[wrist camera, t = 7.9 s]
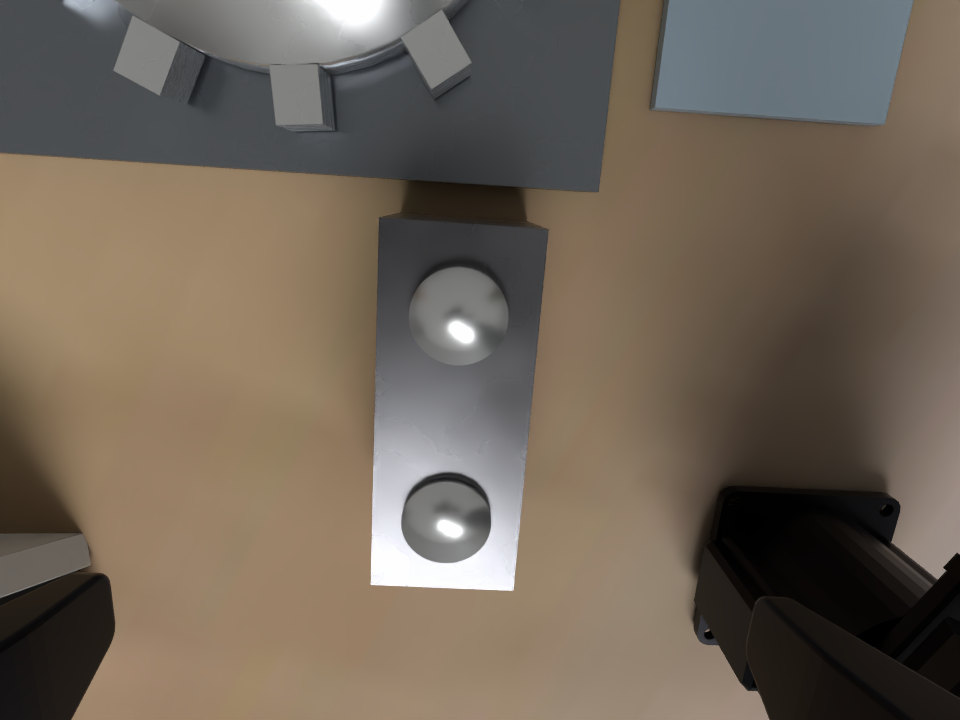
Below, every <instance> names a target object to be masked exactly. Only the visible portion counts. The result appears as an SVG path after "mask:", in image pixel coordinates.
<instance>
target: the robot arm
mask: <svg viewBox="0 0 960 720" xmlns="http://www.w3.org/2000/svg"><path fill="white" fill-rule="evenodd" d="M737 497H738V498H739V499H738V501H737V502H736V503H735V504H732V505H729V503H730V501H731V500H732V499H734V498H737ZM884 505H886V506H885V507H884V509H882V510H881V511H880V509H881V507H882V506H884ZM899 513H900V504H899V502H898V501H897V500H895V499H894V498H893V497H891V496H890V495H888V494H886V493H882V492H859V491H837V490H815V489H792V488H770V487H747V486H730V487H727V488H725V489H723V490H722V491H721V492H720V494H719V497H718V500H717V506H716V511H715V516H714V521H713V527H712V532H711V537H710V541H708V542H707V544H706V545H705V546H704V551H703V556H702V562H701V567H700V572H699V578H698V583H697V588H696V594H695V599H694V602H695V604H696V606H697V611H696V616H695V621H694V632H695V634H696V635H697V637H698V639H699V641H700V642H701V643H703V644H706V645H719V646H720V648H721V650H722V652H723V653H724V655H725V657H726V659H727V660H728V662H729V664H730V666H731V667H732V669H733V671H734V673H735V674H736V676H737V678H738V680H739V681H740V683H741V684H742V685H743V686H744V687H745V688H746V689H747V690H748V691H758V693H759V694H760V696H761V698H762V701H763V704H764V706H765V709H766V712H767V714H768V717H769V719H770V720H960V554H958V553H956V554H955V555H954V556H953V558H952V559H951V560H950V561H949V562H948V563H947V564H946V565H945V566H944V567H943V568H944V569H945V570H947V571H946V572H945V573H944V574H943V575H942V576H941V577H940V578H939V579H938V580H937V579H936V578H935V577H933V576H932V575H931V574H930V573H928V572H927V571H926V570H925V569H924V568H922V567H921V566H920V565H919V564H917V563H916V562H915V561H914V560H912V559H911V558H910V557H909V556H907V555H906V554H905V553H904V552H902V551H901V550H900V549H899V548H897V547H896V546H895V545H894V544H892V543H891V541H892V538H893V534H894V531H895V527H896V524H897V520H898V517H899ZM707 629H710V631H709V632H705V631H706V630H707ZM114 632H115V617H114V609H113V601H112V592H111V585H110V580H109V579H108V577H107V576H106V575H105V574H103V573H86V572H75V573H71V574H68V575H66V576H64V577H62V578H59V579H57V580H55V581H53V582H51V583H49V584H46V585H44V586H42V587H40V588H38V589H36V590H33V591H31V592H29V593H27V594H25V595H23V596H20V597H18V598H16V599H14V600H12V601H9V602H7V603H5V604H3V605H1V606H0V720H71V719H72V717H73V716H74V714H75V712H76V710H77V708H78V706H79V704H80V702H81V700H82V698H83V696H84V694H85V693H86V691H87V689H88V687H89V685H90V683H91V681H92V679H93V677H94V675H95V673H96V672H97V670H98V668H99V666H100V664H101V662H102V660H103V658H104V656H105V654H106V652H107V650H108V649H109V647H110V644H111V642H112V639H113V637H114Z"/></svg>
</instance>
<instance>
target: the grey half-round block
mask: <svg viewBox="0 0 960 720" xmlns="http://www.w3.org/2000/svg"><path fill="white" fill-rule="evenodd" d="M90 565H91V562H90V556H89V550H88V544H87V542H86V540H85V537H84V535H83V533H12V534H0V606H1V605H3V604H5V603H7V602H9V601H12V600H14V599H16V598H18V597H20V596H23V595H25V594H27V593H29V592H31V591H33V590H36V589H38V588H40V587H42V586H44V585H46V584H49V583H51V582H53V581H55V580H57V579H59V578H62V577H64V576H66V575H68V574H71V573H75V572H77V570H79V569H82V568H85V567H87V566H90Z"/></svg>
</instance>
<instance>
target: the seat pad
mask: <svg viewBox="0 0 960 720" xmlns="http://www.w3.org/2000/svg"><path fill="white" fill-rule="evenodd" d="M912 4H913V0H664V5H663V12H662V20H661V28H660V35H659V43H658V51H657V58H656V66H655V74H654V81H653V89H652V97H651V104H650V110H657V111H671V112H685V113H699V114H712V115H726V116H740V117H753V118H767V119H781V120H794V121H808V122H822V123H835V124H849V125H863V126H878V125H884V124H885V121H886V117H887V113H888V108H889V104H890V100H891V95H892V91H893V87H894V82H895V78H896V74H897V69H898V65H899V61H900V56H901V52H902V48H903V43H904V39H905V35H906V30H907V26H908V22H909V17H910V13H911V9H912Z"/></svg>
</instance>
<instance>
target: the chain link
mask: <svg viewBox="0 0 960 720" xmlns="http://www.w3.org/2000/svg"><path fill="white" fill-rule="evenodd" d="M548 230H549V229H546V228H543V227H541V226H538V225H535V224H533V223H530V222H527V221H513V220H499V219H484V218H470V217H456V216H442V215H427V214H413V213H397V214H392V215H388V216H384V217H379V245H378V289H377V334H376V378H375V423H374V467H373V511H372V556H371V585H388V586H412V587H436V588H460V589H484V590H508V591H513V588H514V577H515V567H516V557H517V547H518V537H519V526H520V516H521V506H522V496H523V485H524V475H525V465H526V455H527V445H528V434H529V424H530V414H531V404H532V394H533V383H534V373H535V363H536V353H537V343H538V332H539V322H540V312H541V302H542V292H543V281H544V271H545V261H546V251H547V241H548Z"/></svg>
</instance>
